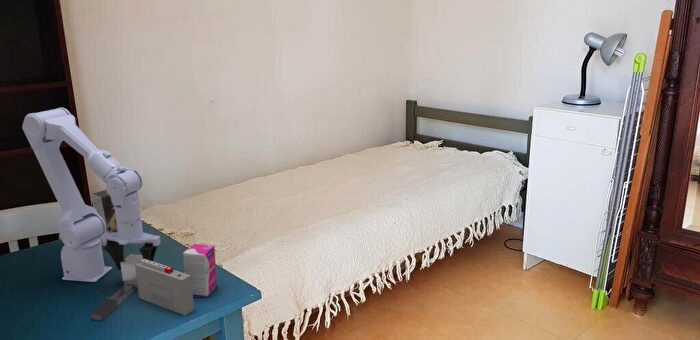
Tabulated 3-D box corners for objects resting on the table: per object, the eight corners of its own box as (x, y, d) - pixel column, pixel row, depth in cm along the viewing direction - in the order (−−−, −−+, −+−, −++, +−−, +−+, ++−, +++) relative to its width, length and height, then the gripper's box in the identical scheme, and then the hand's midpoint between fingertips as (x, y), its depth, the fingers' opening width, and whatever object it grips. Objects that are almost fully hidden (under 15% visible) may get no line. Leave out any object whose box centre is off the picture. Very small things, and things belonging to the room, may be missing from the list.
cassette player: (194, 310, 127) (190, 271, 124) (185, 315, 124) (181, 276, 122) (148, 293, 134) (143, 256, 132) (139, 298, 132) (134, 260, 129)
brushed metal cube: (122, 280, 137) (120, 262, 135) (132, 272, 141) (130, 254, 140) (139, 281, 136) (137, 263, 134) (149, 273, 140) (147, 255, 139)
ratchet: (132, 278, 142) (130, 263, 141) (153, 279, 141) (152, 264, 140) (85, 319, 123) (82, 302, 122) (109, 321, 122) (107, 304, 121)
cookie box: (110, 249, 159) (103, 197, 155) (97, 244, 163) (89, 193, 158) (137, 238, 167) (131, 188, 162) (124, 234, 170) (117, 185, 165)
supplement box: (208, 298, 132) (204, 254, 129) (185, 295, 133) (181, 253, 130) (218, 286, 137) (214, 244, 134) (196, 284, 138) (192, 243, 135)
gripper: (91, 223, 131) (99, 274, 135) (147, 227, 129) (153, 278, 133) (108, 213, 138) (115, 262, 142) (162, 216, 136) (167, 265, 139)
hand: (135, 269), depth 138 cm, fingers open, 7 cm apart
